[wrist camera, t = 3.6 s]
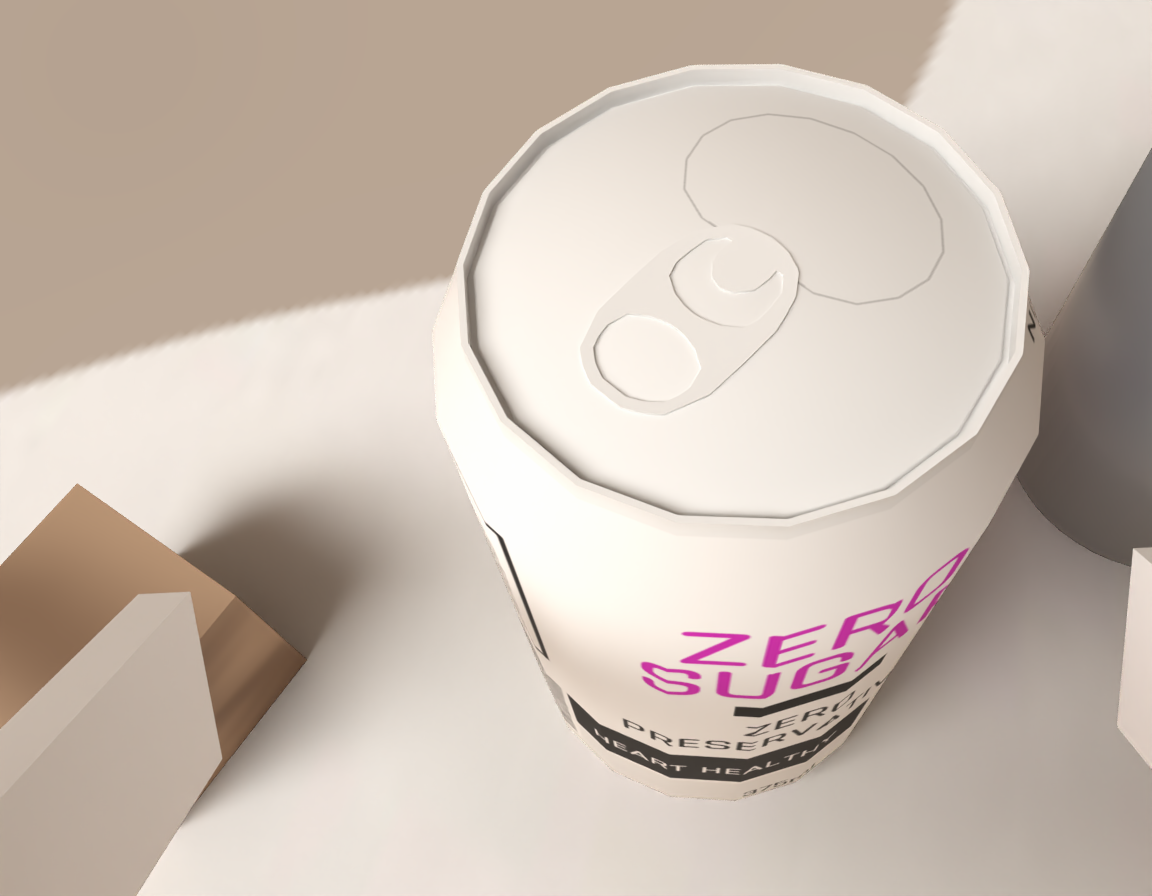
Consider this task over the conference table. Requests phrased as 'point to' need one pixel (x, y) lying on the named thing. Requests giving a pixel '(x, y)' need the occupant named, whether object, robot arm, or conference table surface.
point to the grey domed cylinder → (1101, 393)
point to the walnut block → (103, 589)
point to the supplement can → (734, 407)
